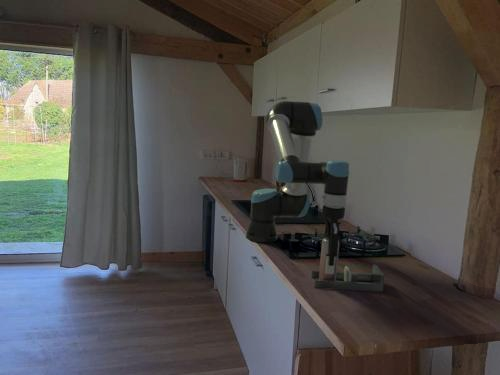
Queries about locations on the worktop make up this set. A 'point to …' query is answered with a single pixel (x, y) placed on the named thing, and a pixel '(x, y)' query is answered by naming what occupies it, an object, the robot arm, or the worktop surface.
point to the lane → (375, 277)
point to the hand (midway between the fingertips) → (328, 269)
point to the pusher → (349, 275)
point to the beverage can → (324, 259)
